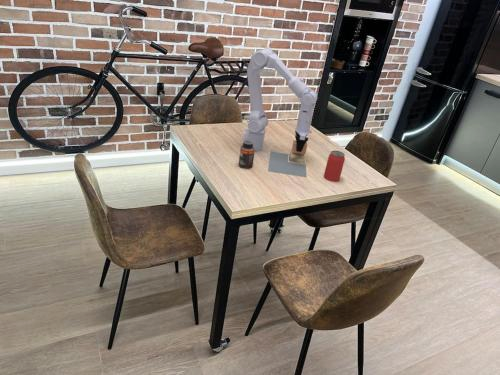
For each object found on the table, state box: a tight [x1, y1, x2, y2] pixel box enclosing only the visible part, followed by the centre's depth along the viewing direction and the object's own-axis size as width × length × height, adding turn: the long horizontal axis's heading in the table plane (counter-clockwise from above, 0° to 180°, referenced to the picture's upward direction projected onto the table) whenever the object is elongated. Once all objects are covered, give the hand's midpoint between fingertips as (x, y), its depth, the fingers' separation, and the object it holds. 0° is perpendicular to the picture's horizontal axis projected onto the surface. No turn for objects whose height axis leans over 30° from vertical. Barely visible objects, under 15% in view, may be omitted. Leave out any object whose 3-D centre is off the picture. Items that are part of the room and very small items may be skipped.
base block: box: [289, 149, 306, 164], centre depth 167 cm, size 6×6×3 cm
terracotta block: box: [291, 140, 308, 155], centre depth 165 cm, size 6×4×4 cm, turn 85°
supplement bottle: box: [238, 140, 256, 170], centre depth 154 cm, size 6×6×11 cm
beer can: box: [323, 150, 346, 183], centre depth 154 cm, size 7×7×12 cm
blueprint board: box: [267, 151, 308, 178], centre depth 164 cm, size 16×21×1 cm
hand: (298, 149), depth 166 cm, fingers closed on terracotta block, 4 cm apart
